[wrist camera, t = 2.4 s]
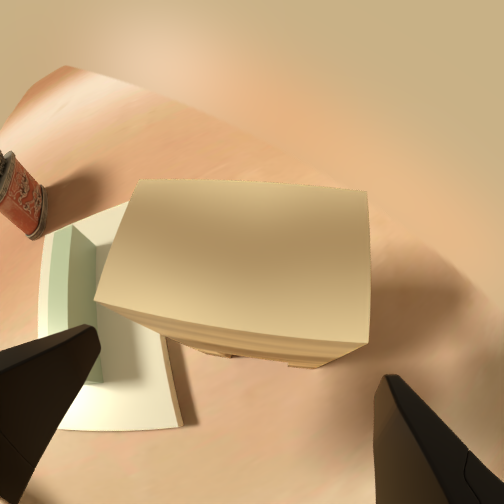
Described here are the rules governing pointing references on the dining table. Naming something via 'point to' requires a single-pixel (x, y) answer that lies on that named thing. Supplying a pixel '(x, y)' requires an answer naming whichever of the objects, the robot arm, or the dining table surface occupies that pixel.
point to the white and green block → (104, 334)
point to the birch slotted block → (244, 268)
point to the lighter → (22, 197)
